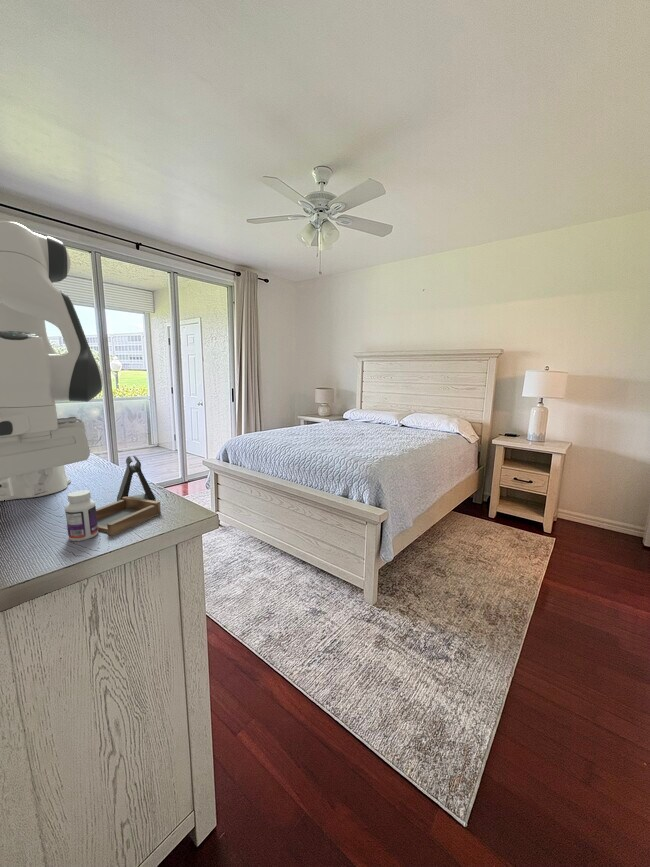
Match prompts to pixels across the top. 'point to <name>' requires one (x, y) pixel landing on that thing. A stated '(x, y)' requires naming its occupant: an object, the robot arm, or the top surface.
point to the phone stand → (128, 477)
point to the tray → (144, 512)
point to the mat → (115, 516)
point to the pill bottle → (81, 516)
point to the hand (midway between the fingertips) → (37, 494)
